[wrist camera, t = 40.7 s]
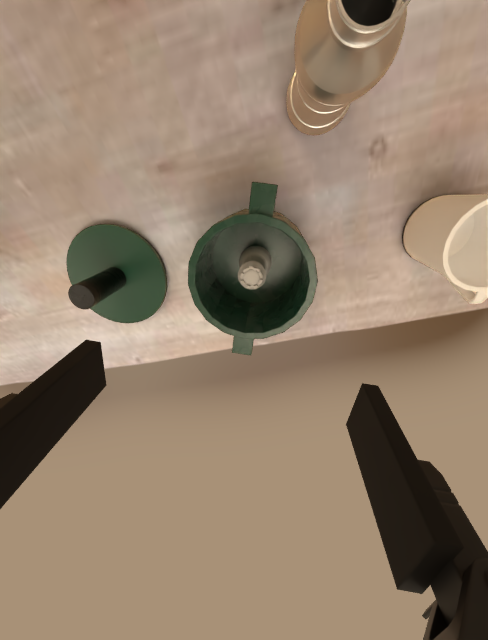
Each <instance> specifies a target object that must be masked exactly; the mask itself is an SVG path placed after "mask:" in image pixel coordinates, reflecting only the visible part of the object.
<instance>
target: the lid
mask: <svg viewBox="0 0 488 640" xmlns="http://www.w3.org/2000/svg"><path fill="white" fill-rule="evenodd" d="M67 271H68V275H69V279H70V282H71V284H72V286H71V287H70V289H69V292H68V294H69V298H70V300H71V302H72V303H73V304H74V305H75V306H77V307H78V308H81V309H91V310H93V311H94V312H96V313H97V314H99V315H100V316H102V317H104V318H107V319H109V320H112V321H115V322H120V323H135V322H139V321H143V320H145V319H147V318H149V317H150V316H152V315H153V314H154V313H155V312H156V311H157V310H158V309H159V308H160V306H161V305H162V303H163V301H164V298H165V295H166V290H167V278H166V273H165V269H164V266H163V264H162V261H161V259H160V257H159V256H158V254H157V252H156V251H155V250H154V249H153V247H152V246H151V245H150V244H149V243H148V242H147V241H146V240H145V239H144V238H143V237H141V236H140V235H138V234H137V233H135V232H134V231H132V230H130V229H128V228H125V227H122V226H119V225H114V224H99V225H95V226H91V227H88V228H86V229H84V230H83V231H81V232H80V233H79V234H78V235H77V236H76V237H75V238H74V239H73V241H72V243H71V245H70V247H69V250H68V254H67Z"/></svg>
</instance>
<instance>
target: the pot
mask: <svg viewBox="0 0 488 640" xmlns="http://www.w3.org/2000/svg"><path fill="white" fill-rule="evenodd" d="M277 187H278V185H273V184H266V183H258V182H252V188H251V196H250V205H249V209H243V210H241V211H239V212H237V213H235V214H232V215H230V216H228V217H226V218H225V219H223V220H221V221H219V222H218V223H216V224H214V225H213V226H212V227H211V228H210V229H209V230H208V231H207V232H206V233H205V234H204V235H203V236H202V237H201V238H200V239H199V240H198V242H197V244H196V246H195V248H194V251H193V253H192V256H191V258H190V261H189V269H188V285H189V289H190V292H191V295H192V298H193V301H194V304H195V305H196V307H197V308H198V309H199V311H200V312H201V313H202V315H203V316H204V317H205V319H206V320H207V321H208V322H210V323H211V324H213V325H214V326H215V327H217V328H218V329H220V330H221V331H223V332H224V333H227V334H230V335H233V336H234V340H233V348H232V352H233V353H239V354H246V355H251V353H252V347H253V340H254V339H264V338H267V337H270V336H273V335H277V334H280V333H283V332H285V331H286V330H287V329H289V328H290V327H291V326H293V325H294V324H295V323H297V322H298V321H300V320H301V318H302V317H303V315H304V314H305V312H306V311H307V309H308V308H309V307H310V305H311V304H312V302H313V298H314V294H315V290H316V286H317V282H318V279H317V271H316V263H315V258H314V256H313V254H312V252H311V250H310V249H309V247H308V245H307V243H306V241H305V239H304V238H303V236H302V234H301V233H300V231H299V230H298V228H297V226H296V225H294V224H293V223H292V222H291V221H290V220H289V219H287V218H286V217H285V216H284V215H283V214H281V213H278V212H275V211H274V206H275V199H276V193H277ZM250 246H260V247H263V248H265V249H266V250H267V251H268V252H269V254H270V256H271V258H272V265H271V268H270V271H269V272H268V274H267V275H266V280H265V283H264V284H263V285H262V286H261V287H260V288H257V289H247V288H245V287H244V286H242V285H241V284H240V282H239V280H238V272H239V269H240V268H239V259H240V256H241V253H242V252H243V251H244V250H245V249H246V248H248V247H250Z"/></svg>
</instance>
